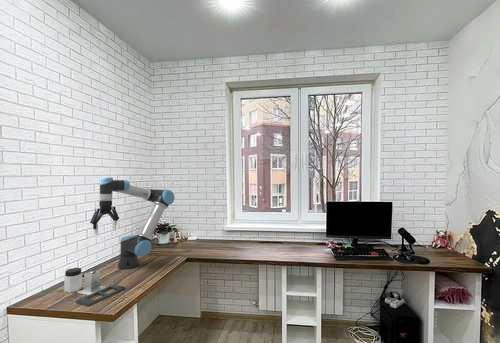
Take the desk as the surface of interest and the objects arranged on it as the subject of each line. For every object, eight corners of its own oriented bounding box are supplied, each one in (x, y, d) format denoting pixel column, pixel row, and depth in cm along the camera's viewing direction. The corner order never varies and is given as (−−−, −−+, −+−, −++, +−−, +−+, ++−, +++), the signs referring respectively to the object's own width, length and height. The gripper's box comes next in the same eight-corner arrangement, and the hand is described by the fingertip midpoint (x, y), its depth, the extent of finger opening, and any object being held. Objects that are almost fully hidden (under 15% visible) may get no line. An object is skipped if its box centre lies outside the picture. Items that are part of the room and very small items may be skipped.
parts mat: (95, 285, 168) (95, 284, 168) (106, 287, 164) (106, 287, 164) (76, 292, 157) (76, 292, 157) (88, 295, 153) (88, 294, 153)
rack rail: (113, 286, 166) (113, 284, 166) (125, 289, 162) (125, 287, 162) (75, 303, 144) (75, 300, 144) (88, 306, 140) (88, 304, 140)
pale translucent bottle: (100, 288, 162) (100, 270, 162) (91, 292, 156) (91, 273, 157) (93, 286, 164) (93, 269, 165) (83, 290, 159) (84, 272, 159)
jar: (69, 287, 164) (69, 267, 165) (83, 286, 166) (84, 267, 166) (61, 293, 155) (62, 272, 156) (77, 292, 157) (77, 272, 157)
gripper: (117, 198, 190) (116, 228, 190) (84, 201, 167) (83, 235, 167) (125, 199, 188) (124, 229, 187) (92, 201, 164) (91, 236, 164)
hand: (105, 232), depth 177 cm, fingers open, 13 cm apart
